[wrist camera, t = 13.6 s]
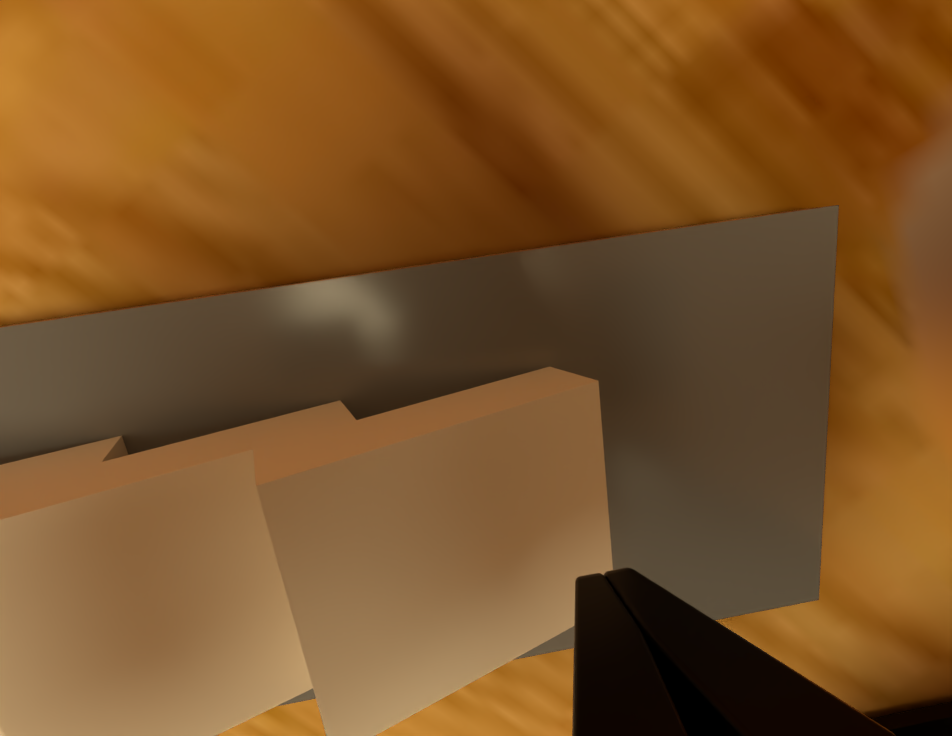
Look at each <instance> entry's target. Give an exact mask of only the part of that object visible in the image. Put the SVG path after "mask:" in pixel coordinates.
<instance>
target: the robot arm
mask: <svg viewBox="0 0 952 736" xmlns="http://www.w3.org/2000/svg"><path fill="white" fill-rule="evenodd" d="M572 736H952V702H949V703H944V704H940V705H935V706H930V707H926V708H921V709H916V710H912V711H907V712H902V713H897V714H893V715H888V716H883V717H879V718H874V719H870V718H869V717H867V716H866V715H864V714H862V713H861V712H859V711H858V710H856V709H854V708H853V707H851V706H850V705H848V704H847V703H845V702H843V701H842V700H840V699H839V698H837V697H835V696H834V695H832V694H831V693H829V692H828V691H826V690H824V689H823V688H821V687H820V686H818V685H816V684H815V683H813V682H812V681H810V680H809V679H807V678H805V677H804V676H802V675H801V674H799V673H797V672H796V671H794V670H793V669H791V668H789V667H788V666H786V665H785V664H783V663H782V662H780V661H778V660H777V659H775V658H774V657H772V656H770V655H769V654H767V653H766V652H764V651H763V650H761V649H759V648H758V647H756V646H755V645H753V644H751V643H750V642H748V641H747V640H745V639H744V638H742V637H740V636H739V635H737V634H736V633H734V632H732V631H731V630H729V629H728V628H726V627H724V626H723V625H721V624H720V623H718V622H717V621H715V620H713V619H712V618H710V617H709V616H707V615H705V614H704V613H702V612H701V611H699V610H698V609H696V608H694V607H693V606H691V605H690V604H688V603H686V602H685V601H683V600H682V599H680V598H679V597H677V596H675V595H674V594H672V593H671V592H669V591H667V590H666V589H664V588H663V587H661V586H660V585H658V584H656V583H655V582H653V581H652V580H650V579H648V578H647V577H645V576H644V575H642V574H640V573H639V572H637V571H636V570H634V569H632V568H621V569H616V570H611V571H607V572H605V574H604V575H603V574H601V573H595V574H589V575H584V576H579V577H577V578H576V580H575V620H574V675H573V729H572Z"/></svg>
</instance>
